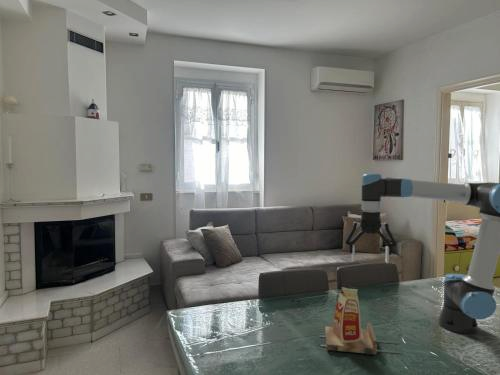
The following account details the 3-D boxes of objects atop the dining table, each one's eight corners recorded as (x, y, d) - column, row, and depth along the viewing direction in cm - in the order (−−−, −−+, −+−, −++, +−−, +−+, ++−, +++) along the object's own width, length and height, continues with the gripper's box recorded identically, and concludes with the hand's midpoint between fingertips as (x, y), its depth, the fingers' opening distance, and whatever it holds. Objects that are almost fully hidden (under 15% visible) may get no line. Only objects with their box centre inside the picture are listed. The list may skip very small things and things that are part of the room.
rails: (396, 342, 146) (396, 342, 146) (401, 354, 137) (401, 353, 137) (319, 336, 151) (319, 335, 151) (320, 346, 143) (320, 345, 143)
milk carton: (341, 343, 140) (343, 291, 138) (331, 332, 148) (332, 283, 147) (363, 341, 142) (365, 289, 140) (351, 330, 151) (353, 282, 149)
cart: (369, 334, 152) (370, 322, 152) (376, 355, 135) (377, 341, 135) (325, 330, 155) (325, 318, 155) (326, 350, 138) (327, 337, 138)
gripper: (400, 210, 154) (399, 260, 155) (339, 209, 158) (338, 258, 159) (404, 212, 146) (403, 265, 148) (340, 211, 151) (339, 262, 152)
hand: (369, 261), depth 153 cm, fingers open, 13 cm apart
